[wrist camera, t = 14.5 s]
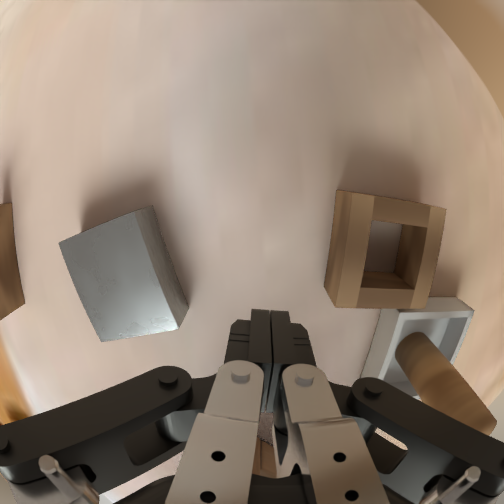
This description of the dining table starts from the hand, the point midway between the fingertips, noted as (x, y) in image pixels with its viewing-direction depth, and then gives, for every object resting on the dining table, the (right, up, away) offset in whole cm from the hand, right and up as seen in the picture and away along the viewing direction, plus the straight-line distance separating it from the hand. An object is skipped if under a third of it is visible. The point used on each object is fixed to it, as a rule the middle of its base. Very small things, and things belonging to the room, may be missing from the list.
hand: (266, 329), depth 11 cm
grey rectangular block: (-9, +2, +6) cm, 11 cm away
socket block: (+7, +4, +5) cm, 9 cm away
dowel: (+12, -4, +7) cm, 14 cm away
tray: (+12, -4, +7) cm, 14 cm away
